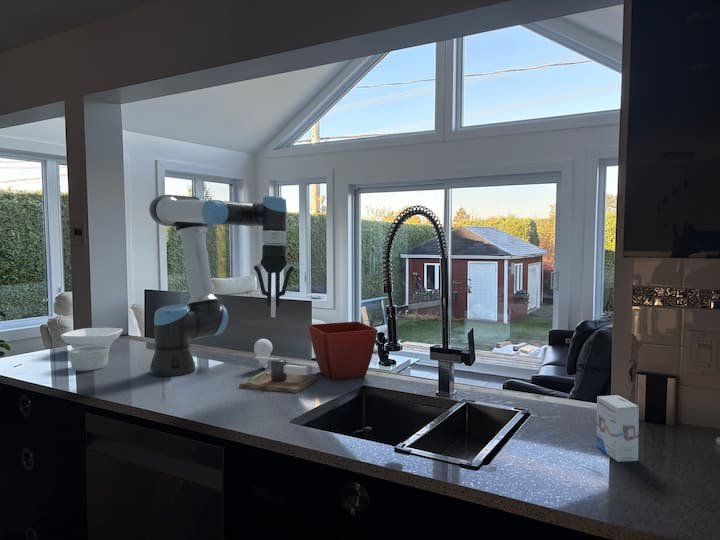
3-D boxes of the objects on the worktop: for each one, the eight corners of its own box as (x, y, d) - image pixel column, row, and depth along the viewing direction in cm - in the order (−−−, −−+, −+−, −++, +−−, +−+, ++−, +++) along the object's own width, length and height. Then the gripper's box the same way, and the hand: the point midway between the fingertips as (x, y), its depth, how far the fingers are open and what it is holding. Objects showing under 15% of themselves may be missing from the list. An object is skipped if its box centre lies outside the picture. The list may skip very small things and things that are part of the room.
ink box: (594, 446, 115) (595, 394, 115) (615, 445, 116) (617, 394, 115) (616, 462, 107) (618, 406, 106) (639, 461, 107) (641, 406, 107)
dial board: (238, 387, 162) (238, 383, 162) (263, 374, 178) (263, 370, 178) (296, 393, 156) (296, 388, 156) (317, 379, 172) (316, 374, 172)
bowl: (105, 357, 204) (104, 336, 204) (53, 357, 204) (53, 336, 204) (129, 347, 225) (128, 327, 224) (82, 346, 225) (82, 327, 225)
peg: (252, 378, 167) (251, 358, 167) (260, 374, 172) (259, 355, 171) (303, 383, 161) (303, 362, 161) (310, 379, 166) (310, 359, 165)
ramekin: (60, 370, 184) (60, 350, 184) (92, 362, 196) (91, 344, 196) (87, 373, 179) (86, 354, 179) (117, 365, 191) (117, 347, 191)
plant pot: (324, 384, 166) (324, 332, 165) (308, 370, 184) (308, 324, 183) (378, 378, 173) (378, 329, 172) (357, 366, 191) (357, 321, 190)
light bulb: (274, 366, 189) (274, 337, 188) (269, 371, 182) (269, 340, 182) (257, 366, 190) (257, 337, 189) (251, 370, 183) (251, 340, 182)
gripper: (253, 244, 160) (252, 318, 162) (294, 245, 163) (293, 318, 164) (253, 243, 168) (253, 314, 170) (293, 244, 170) (292, 314, 172)
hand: (273, 316), depth 167 cm, fingers closed
